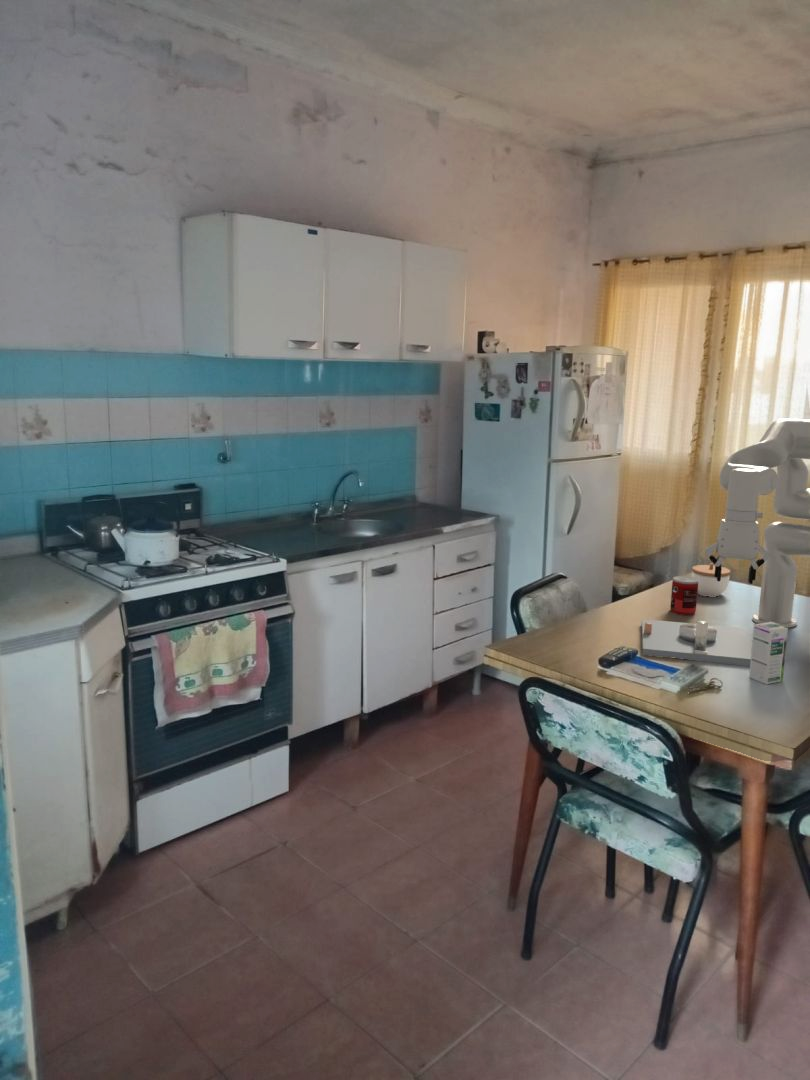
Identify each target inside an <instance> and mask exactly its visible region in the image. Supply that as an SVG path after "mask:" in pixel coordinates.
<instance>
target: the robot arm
mask: <svg viewBox="0 0 810 1080" xmlns="http://www.w3.org/2000/svg"><path fill="white" fill-rule="evenodd" d="M804 459H805V460H810V419H802V418H801V419H799V418H779V419H777V420H774V421H773V422H772V423H771V424H770V425H769V426H768V428H767V429H766V431H765V432H764V434H763V435H762V437H761V438H760V440H759V441H758V442H757V443H754V444H751V445H749V446H747V447H744V448H742V449H738V450H737V451H736V452H733V454H731V455H730V456H729V457H728V459H727V461H725V463H724V465H723V467H722V468H721V470H720V473H719V486H720V488H722V489H723V490H724V491H727V497H726V504H725V507H726V508H725V516H724V518H723V519H721V520H720V525H719V529H718V534H717V541H716V542H714V543H713V544H711V545H710V546H707V547H706V548H705V549H704V550H703V551H704V553H705V555H706V557H708V559H709V560H710V561H711V563H712V564H713V565H714V566H715V574H714V577H717V581H720V580H721V570H722V567H723V566H722V563H723V562H724V560H725V559H731V560H746V561H749V563H750V566H749V568H748V569H749V570H748V577H747V581H748V584H750V585H753V583H754V582H753V581H756V576H757V570H758V568H759V567H761V566H762V565H763V568H762V578H761V585H760V586H761V587H760V588H761V589H760V596H759V605H758V612H757V613H754V614H753V615H752V621H754V622H755V624H760V623H767V622H770V621H771V622H774V623H778V624H781V625H783V626H786V627H787V628H788V629H789V628H793V627H796V626H797V623H798V622H797V619H796V618H794V617H793V610H794V600H795V593H796V586H797V585H796V583H797V576H798V568H797V564H796V562H795V561H794V559H793V557H792V556H797V557H805V558H810V524H802V523H797V522H787V521H774V522H771V523H769V524H767V525H766V526H765V528H764V531H763V547H762V545H760V527H759V526H760V525H759V521H757V520H758V519H763V517H764V516H763V512H760V511H758V505H759V496H766V495H769V494H771V493H772V492H774V497H773V508H772V509H773V513H774V514H775V515H776V516H778V517H780V518H786V519H793V520H801V521H809V522H810V488H808V479H809V468H808V467H807V464H805V461H804ZM774 468H776V470H777V472H776V471H775V470H774ZM713 551H716V553H717V557H715V556H714V555H713V553H712V552H713ZM759 553H760V554H762V556H761V557H760V558H758V557H759ZM757 558H758V559H757Z"/></svg>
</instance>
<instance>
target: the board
mask: <svg viewBox="0 0 810 1080" xmlns="http://www.w3.org/2000/svg"><path fill="white" fill-rule="evenodd" d="M683 624H693V622H692V623H690V622H681V621H680V622H678V621H668V620H667V621H666V620H657V619H648V618H647V619H646V618H642V619H641V637H642V638H641V642H642V643H641V645H642V646H641V647H642V648H641V649H643V650H642V656H643V655H651V656H650V657H652V656H662V657H675V658H683V659H689V660H688V661H692V660H699V661H698V662H703V661H708V662H707V663H713V662H714V663H715V664H716V663H717V664H723V663H724V664H725V665H734V666H744V667H750V663H751V652H752V641H753V637H752V636H751V634H750V631H749V629H748V628H747V627H735V626H726V625H725V626H724V625H714V624H713V625H712V624H708V626H710V627H713V628H715V629H716V630H717V635H716V641H715V642H712V643H706V650H704V651H700V650H696V649H694V645H695V644H694V642H690V641H686V640H684V639H682V638H680V637H679V629H680V626H681V625H683ZM662 657H661V658H662Z"/></svg>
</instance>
